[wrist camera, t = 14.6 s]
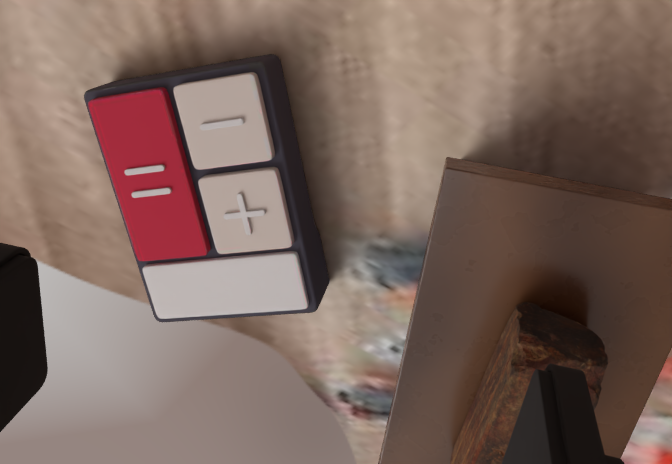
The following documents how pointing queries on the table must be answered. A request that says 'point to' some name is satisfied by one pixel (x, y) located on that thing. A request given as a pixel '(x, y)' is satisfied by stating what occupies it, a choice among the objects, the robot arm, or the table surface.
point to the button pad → (212, 190)
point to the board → (530, 296)
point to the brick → (524, 377)
